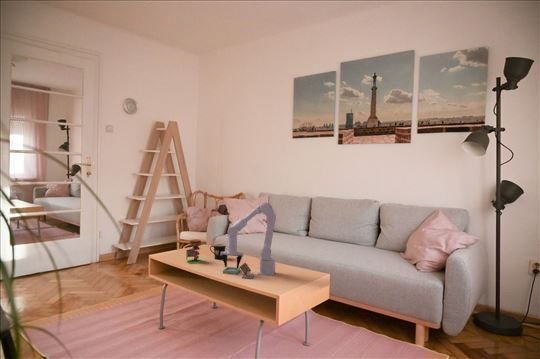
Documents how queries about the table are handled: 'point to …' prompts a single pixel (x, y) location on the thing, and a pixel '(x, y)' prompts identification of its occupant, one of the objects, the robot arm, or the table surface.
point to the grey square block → (247, 276)
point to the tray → (231, 270)
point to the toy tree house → (194, 252)
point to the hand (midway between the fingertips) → (231, 267)
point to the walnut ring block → (245, 268)
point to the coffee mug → (218, 250)
